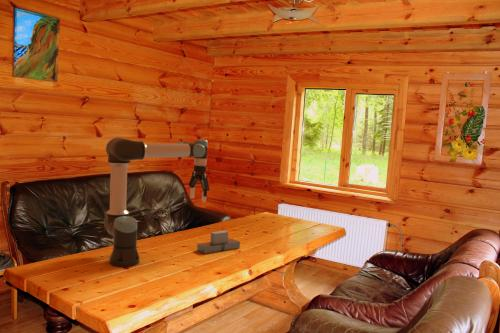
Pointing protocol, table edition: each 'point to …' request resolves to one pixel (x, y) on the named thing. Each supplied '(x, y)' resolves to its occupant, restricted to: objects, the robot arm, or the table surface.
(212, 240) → the upright grey box
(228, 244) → the block with rectangular hole
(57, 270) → the table surface
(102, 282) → the table surface
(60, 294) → the table surface
